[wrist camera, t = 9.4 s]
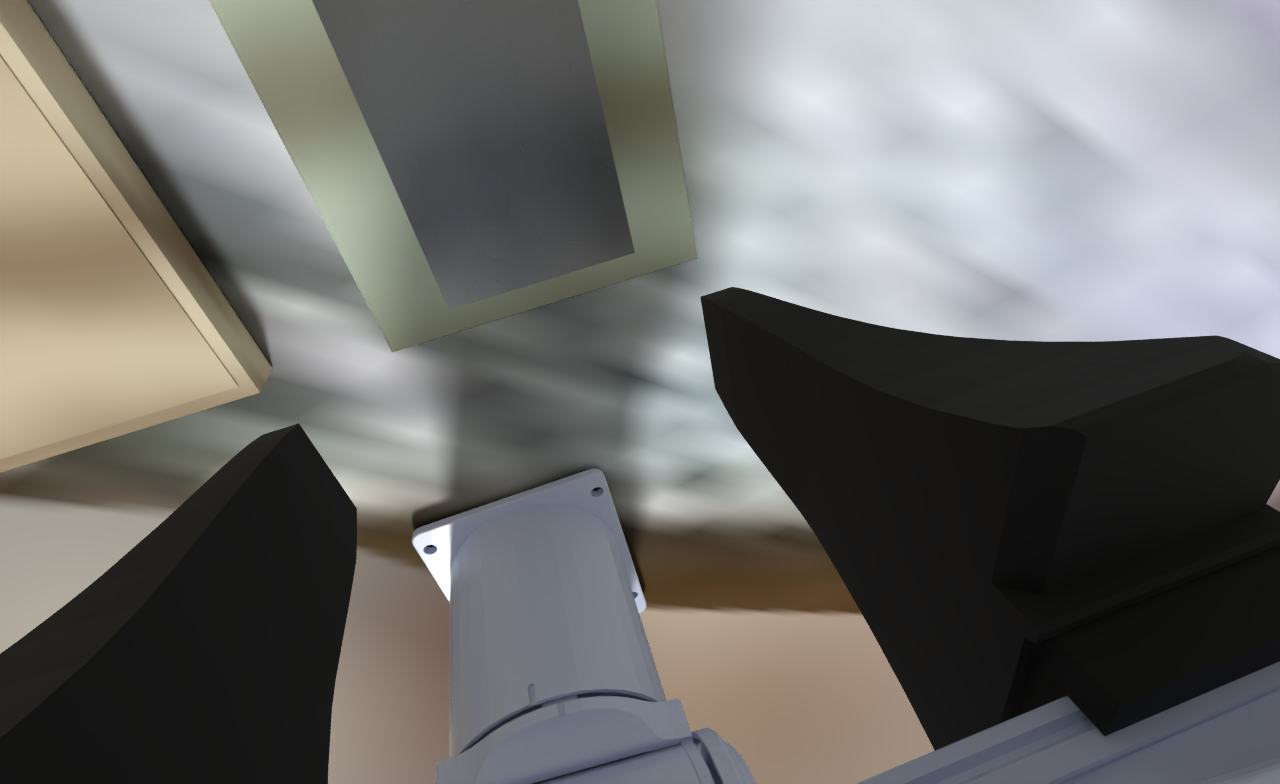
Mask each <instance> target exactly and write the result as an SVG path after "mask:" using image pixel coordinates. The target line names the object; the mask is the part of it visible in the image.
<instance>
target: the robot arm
mask: <svg viewBox="0 0 1280 784" xmlns="http://www.w3.org/2000/svg"><path fill="white" fill-rule="evenodd" d="M701 303H702V309H703V315H704V321H705V328H706V334H707V340H708V346H709V352H710V358H711V365H712V371H713V377H714V383H715V389H716V391H717V393H718V395H719V397H720V398H721V400H722V402H723V404H724V406H725V408H726V410H727V411H728V413H729V415H730V417H731V419H732V420H733V422H734V424H735V426H736V427H737V429H738V430H739V432H740V433H741V434H742V436H743V437H744V439H745V440H746V441H747V443H748V444H749V445H750V447H751V448H752V449H753V451H754V452H755V453H756V455H757V456H758V457H759V459H760V460H761V461H762V462H763V464H764V465H765V466H766V468H767V469H768V470H769V472H770V473H771V474H772V476H773V477H774V478H775V480H776V481H777V482H778V483H779V485H780V486H781V487H782V489H783V490H784V491H785V493H786V494H787V495H788V497H789V498H790V499H791V501H792V502H793V503H794V504H795V506H796V507H797V508H798V510H799V511H800V512H801V514H802V515H803V517H804V518H805V520H806V521H807V523H808V524H809V525H810V527H811V528H812V530H813V531H814V533H815V534H816V536H817V538H818V539H819V541H820V543H821V544H822V546H823V548H824V549H825V551H826V553H827V554H828V556H829V558H830V559H831V561H832V563H833V564H834V566H835V568H836V569H837V571H838V573H839V574H840V576H841V578H842V580H843V581H844V583H845V585H846V587H847V588H848V590H849V592H850V594H851V595H852V597H853V599H854V601H855V602H856V604H857V606H858V608H859V609H860V611H861V613H862V615H863V616H864V618H865V620H866V622H867V623H868V625H869V626H870V629H871V630H872V632H873V634H874V636H875V637H876V640H877V641H878V643H879V645H880V647H881V649H882V651H883V653H884V654H885V656H886V658H887V660H888V662H889V663H890V665H891V667H892V669H893V671H894V673H895V675H896V676H897V678H898V680H899V682H900V684H901V686H902V688H903V689H904V691H905V693H906V695H907V697H908V699H909V701H910V703H911V705H912V707H913V709H914V711H915V713H916V714H917V716H918V718H919V720H920V722H921V724H922V726H923V728H924V730H925V732H926V734H927V736H928V738H929V740H930V742H931V744H932V746H933V748H934V750H935V751H933V752H931V753H928V754H926V755H924V756H921V757H919V758H917V759H914V760H912V761H909V762H907V763H905V764H902V765H900V766H897V767H895V768H893V769H890V770H888V771H885V772H883V773H881V774H879V775H876V776H873V777H871V778H869V779H866V780H864V781H862V782H859V783H857V784H1280V512H1279V511H1277V510H1276V509H1274V508H1272V507H1270V506H1269V505H1267V504H1266V503H1267V501H1268V499H1269V498H1270V496H1271V494H1272V492H1273V490H1274V489H1275V487H1276V485H1277V483H1278V482H1279V480H1280V359H1278V358H1275V357H1273V356H1270V355H1268V354H1266V353H1263V352H1261V351H1258V350H1256V349H1253V348H1251V347H1248V346H1246V345H1244V344H1241V343H1239V342H1236V341H1233V340H1231V339H1228V338H1225V337H1221V336H1200V337H1182V338H1164V339H1146V340H1129V341H1107V342H1036V341H1007V340H993V339H978V338H964V337H954V336H944V335H935V334H929V333H922V332H915V331H908V330H901V329H895V328H889V327H884V326H879V325H874V324H869V323H865V322H861V321H856V320H852V319H847V318H843V317H839V316H835V315H831V314H827V313H824V312H820V311H816V310H813V309H809V308H806V307H802V306H799V305H796V304H792V303H789V302H786V301H782V300H779V299H776V298H773V297H769V296H766V295H763V294H759V293H756V292H752V291H749V290H745V289H741V288H735V287H731V288H727V289H724V290H721V291H718V292H715V293H712V294H708V295H705V296H702V297H701ZM596 487H600V489H599V490H597V491H592V490H593V489H594V488H596ZM412 543H413V546H414V547H415V549H416V550H417V552H418V554H419V555H420V557H421V558H422V560H423V561H424V563H425V565H426V566H427V568H428V569H429V571H430V572H431V574H432V576H433V577H434V579H435V580H436V582H437V583H438V585H439V587H440V588H441V590H442V591H443V593H444V594H445V596H446V598H447V599H448V601H449V602H450V740H449V745H450V746H449V747H450V748H449V749H450V750H449V751H450V752H449V758H448V759H445V760H441V761H439V762H438V763H437V764H436V784H756V782H755V780H754V778H753V776H752V774H751V772H750V770H749V768H748V766H747V765H746V763H745V761H744V760H743V758H742V757H741V755H740V754H739V753H738V751H737V750H736V749H735V748H734V747H733V746H731V745H730V744H729V743H727V742H726V741H725V740H723V739H722V738H721V737H720V736H719V735H718V734H717V733H716V732H715V731H714V730H712V729H710V728H704V729H700V730H696V731H693V732H691V731H690V728H689V725H688V722H687V719H686V716H685V713H684V710H683V707H682V704H681V701H680V700H678V699H674V700H669V701H667V700H666V697H665V694H664V691H663V688H662V685H661V681H660V678H659V675H658V672H657V669H656V666H655V662H654V659H653V656H652V653H651V650H650V646H649V643H648V640H647V637H646V634H645V631H644V628H643V624H642V621H641V618H640V615H639V613H641V612H642V611H644V610H645V608H646V601H645V598H644V595H643V592H642V589H641V586H640V583H639V580H638V576H637V573H636V570H635V567H634V564H633V561H632V558H631V555H630V552H629V549H628V546H627V543H626V540H625V537H624V534H623V530H622V527H621V524H620V521H619V518H618V515H617V512H616V509H615V506H614V503H613V500H612V497H611V494H610V491H609V487H608V484H607V481H606V478H605V475H604V473H603V472H602V471H601V470H599V469H595V468H594V469H589V470H586V471H583V472H580V473H577V474H574V475H571V476H568V477H565V478H562V479H560V480H557V481H554V482H551V483H548V484H545V485H542V486H539V487H536V488H533V489H530V490H527V491H524V492H521V493H518V494H515V495H513V496H510V497H507V498H504V499H501V500H498V501H495V502H492V503H489V504H486V505H483V506H480V507H477V508H474V509H471V510H468V511H465V512H463V513H460V514H457V515H454V516H451V517H448V518H445V519H442V520H439V521H436V522H433V523H430V524H427V525H424V526H421V527H419V528H417V529H416V530H415V531H414V532H413V535H412ZM427 545H435V546H434V547H426V546H427ZM356 550H357V508H356V507H355V505H354V504H353V502H352V501H351V500H350V498H349V497H348V495H347V494H346V492H345V491H344V489H343V488H342V486H341V485H340V483H339V482H338V480H337V479H336V477H335V476H334V475H333V473H332V472H331V470H330V469H329V467H328V466H327V464H326V463H325V461H324V460H323V458H322V457H321V455H320V454H319V452H318V451H317V450H316V448H315V447H314V445H313V444H312V442H311V441H310V439H309V438H308V436H307V435H306V433H305V432H304V430H303V429H302V427H301V426H300V425H299V424H296V425H292V426H289V427H286V428H283V429H280V430H277V431H273V432H270V433H267V434H264V435H262V436H260V437H259V438H257V439H256V440H254V441H253V442H252V443H250V444H249V445H248V446H246V447H245V448H244V449H243V450H242V451H240V452H239V453H238V454H237V455H236V456H234V457H233V458H232V459H231V460H230V461H229V462H228V463H227V464H225V465H224V466H223V467H222V468H221V469H220V470H219V471H218V472H217V473H216V474H214V475H213V476H212V477H211V478H210V479H209V480H208V481H207V482H206V483H205V484H204V485H203V486H201V487H200V488H199V489H198V490H197V491H196V492H195V493H194V494H193V495H192V496H191V497H190V498H188V499H187V500H186V501H185V502H184V503H183V504H182V505H181V506H180V507H179V508H178V509H177V510H175V511H174V512H173V513H172V514H171V515H170V516H169V517H168V518H167V519H166V520H165V521H164V522H162V523H161V524H160V525H159V526H158V527H157V528H156V529H155V530H153V531H152V532H151V533H150V534H149V535H148V536H147V537H145V538H144V539H143V540H142V541H141V542H140V543H139V544H137V545H136V546H135V547H134V548H133V549H132V550H131V551H129V552H128V553H127V554H126V555H125V556H124V557H123V558H121V559H120V560H119V561H118V562H117V563H116V564H115V565H114V566H112V567H111V568H110V569H109V570H108V571H107V572H105V573H104V574H103V575H102V576H101V577H99V578H98V579H97V580H96V581H95V582H93V583H92V584H91V585H90V586H89V587H87V588H86V589H85V590H84V591H82V592H81V593H80V594H79V595H77V596H76V597H75V598H74V599H72V600H71V601H70V602H69V603H67V604H66V605H65V606H64V607H62V608H61V609H60V610H58V611H57V612H56V613H54V614H53V615H52V616H51V617H49V618H48V619H47V620H45V621H44V622H43V623H41V624H40V625H39V626H37V627H36V628H35V629H33V630H32V631H31V632H29V633H28V634H27V635H26V636H24V637H23V638H22V639H20V640H19V641H18V642H16V643H15V644H13V645H12V646H11V647H9V648H8V649H6V650H5V651H4V652H2V653H1V654H0V784H328V763H329V746H330V729H331V728H330V727H331V712H332V703H333V695H334V687H335V679H336V674H337V669H338V663H339V657H340V652H341V646H342V640H343V635H344V629H345V624H346V618H347V612H348V607H349V601H350V595H351V589H352V583H353V576H354V571H355V564H356Z"/></svg>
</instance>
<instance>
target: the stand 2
mask: <svg viewBox="0 0 1280 784" xmlns="http://www.w3.org/2000/svg"><path fill="white" fill-rule="evenodd" d="M209 1H210V3H211V5H212V7H213V9H214V11H215V13H216V15H217V16H218V18H219V20H220V22H221V24H222V26H223V28H224V30H225V32H226V34H227V36H228V38H229V40H230V41H231V43H232V45H233V47H234V49H235V51H236V53H237V55H238V57H239V59H240V61H241V63H242V65H243V66H244V68H245V70H246V72H247V74H248V76H249V78H250V80H251V82H252V84H253V86H254V88H255V90H256V91H257V93H258V95H259V97H260V99H261V101H262V103H263V105H264V107H265V109H266V111H267V113H268V115H269V116H270V118H271V120H272V122H273V124H274V126H275V128H276V130H277V132H278V134H279V136H280V138H281V140H282V141H283V143H284V145H285V147H286V149H287V151H288V153H289V155H290V157H291V159H292V161H293V163H294V165H295V166H296V168H297V170H298V172H299V174H300V176H301V178H302V180H303V182H304V184H305V186H306V188H307V190H308V191H309V193H310V195H311V197H312V199H313V201H314V203H315V205H316V207H317V209H318V211H319V213H320V215H321V216H322V218H323V220H324V222H325V224H326V226H327V228H328V230H329V232H330V234H331V236H332V238H333V240H334V241H335V243H336V245H337V247H338V249H339V251H340V253H341V255H342V257H343V259H344V261H345V263H346V265H347V266H348V268H349V270H350V272H351V274H352V276H353V278H354V280H355V282H356V284H357V286H358V288H359V290H360V291H361V293H362V295H363V297H364V299H365V301H366V303H367V305H368V307H369V309H370V311H371V313H372V315H373V316H374V318H375V320H376V322H377V324H378V326H379V328H380V330H381V332H382V334H383V336H384V338H385V340H386V341H387V343H388V345H389V347H390V349H391V351H392V352H394V351H397V350H400V349H404V348H407V347H410V346H414V345H417V344H420V343H423V342H427V341H430V340H433V339H436V338H440V337H443V336H446V335H449V334H453V333H456V332H459V331H462V330H466V329H469V328H472V327H475V326H479V325H482V324H485V323H488V322H492V321H495V320H498V319H501V318H505V317H508V316H511V315H514V314H518V313H521V312H524V311H527V310H531V309H534V308H537V307H540V306H544V305H547V304H550V303H553V302H557V301H560V300H563V299H566V298H570V297H573V296H576V295H579V294H583V293H586V292H589V291H592V290H596V289H599V288H602V287H605V286H609V285H612V284H615V283H618V282H622V281H625V280H628V279H631V278H635V277H638V276H641V275H644V274H648V273H651V272H654V271H657V270H661V269H664V268H667V267H670V266H674V265H677V264H680V263H683V262H687V261H690V260H693V259H696V258H697V253H696V247H695V241H694V235H693V228H692V222H691V216H690V209H689V203H688V197H687V191H686V184H685V178H684V172H683V165H682V159H681V153H680V146H679V140H678V134H677V128H676V121H675V115H674V109H673V102H672V96H671V90H670V84H669V77H668V71H667V65H666V58H665V52H664V46H663V40H662V33H661V27H660V21H659V14H658V8H657V2H656V0H578V3H579V8H580V12H581V17H582V21H583V25H584V30H585V34H586V39H587V43H588V47H589V52H590V56H591V61H592V65H593V70H594V74H595V78H596V83H597V87H598V92H599V96H600V101H601V105H602V109H603V114H604V118H605V123H606V127H607V131H608V136H609V140H610V145H611V149H612V154H613V158H614V162H615V167H616V171H617V176H618V180H619V184H620V189H621V193H622V198H623V202H624V207H625V211H626V215H627V220H628V224H629V229H630V233H631V237H632V242H633V246H634V251H635V253H633V254H629V255H626V256H623V257H620V258H616V259H613V260H610V261H607V262H603V263H600V264H597V265H594V266H590V267H587V268H584V269H581V270H577V271H574V272H571V273H568V274H564V275H561V276H558V277H555V278H551V279H548V280H545V281H542V282H538V283H535V284H532V285H529V286H525V287H522V288H519V289H516V290H512V291H509V292H506V293H503V294H499V295H496V296H493V297H490V298H486V299H483V300H480V301H477V302H473V303H470V304H467V305H464V306H460V307H457V308H454V309H451V310H448V307H447V305H446V303H445V301H444V298H443V296H442V294H441V291H440V289H439V287H438V285H437V282H436V280H435V278H434V276H433V273H432V271H431V269H430V267H429V264H428V262H427V260H426V257H425V255H424V253H423V251H422V248H421V246H420V244H419V242H418V239H417V237H416V235H415V233H414V230H413V228H412V226H411V223H410V221H409V219H408V217H407V214H406V212H405V210H404V208H403V205H402V203H401V201H400V199H399V196H398V194H397V192H396V190H395V187H394V185H393V183H392V180H391V178H390V176H389V174H388V171H387V169H386V167H385V165H384V162H383V160H382V158H381V156H380V153H379V151H378V149H377V146H376V144H375V142H374V140H373V137H372V135H371V133H370V131H369V128H368V126H367V124H366V122H365V119H364V117H363V115H362V112H361V110H360V108H359V106H358V103H357V101H356V99H355V97H354V94H353V92H352V90H351V88H350V85H349V83H348V81H347V79H346V76H345V74H344V72H343V69H342V67H341V65H340V63H339V60H338V58H337V56H336V54H335V51H334V49H333V47H332V45H331V42H330V40H329V38H328V35H327V33H326V31H325V29H324V26H323V24H322V22H321V20H320V17H319V15H318V13H317V11H316V8H315V6H314V4H313V1H312V0H209Z"/></svg>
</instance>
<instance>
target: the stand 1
mask: <svg viewBox="0 0 1280 784" xmlns="http://www.w3.org/2000/svg"><path fill="white" fill-rule="evenodd" d="M271 371H272V367H271V366H270V364H269V363H268V361H267V360H266V358H265V357H264V355H263V354H262V352H261V351H260V349H259V348H258V346H257V345H256V343H255V342H254V340H253V339H252V337H251V336H250V334H249V333H248V331H247V330H246V328H245V327H244V325H243V324H242V322H241V321H240V319H239V318H238V316H237V315H236V313H235V312H234V310H233V309H232V307H231V306H230V304H229V303H228V301H227V300H226V298H225V297H224V295H223V294H222V292H221V291H220V289H219V288H218V286H217V285H216V283H215V282H214V280H213V279H212V277H211V276H210V274H209V273H208V271H207V270H206V268H205V267H204V265H203V264H202V262H201V261H200V259H199V258H198V256H197V255H196V253H195V252H194V250H193V249H192V247H191V246H190V244H189V243H188V241H187V240H186V238H185V237H184V235H183V234H182V232H181V231H180V229H179V228H178V226H177V225H176V223H175V222H174V220H173V219H172V217H171V216H170V214H169V213H168V211H167V210H166V208H165V207H164V205H163V204H162V202H161V201H160V199H159V198H158V196H157V195H156V193H155V192H154V190H153V189H152V187H151V186H150V184H149V183H148V181H147V180H146V178H145V177H144V175H143V174H142V172H141V171H140V169H139V168H138V166H137V165H136V163H135V162H134V160H133V159H132V157H131V156H130V154H129V153H128V151H127V150H126V148H125V147H124V145H123V144H122V142H121V141H120V139H119V138H118V136H117V135H116V133H115V132H114V130H113V129H112V127H111V126H110V124H109V123H108V121H107V120H106V118H105V117H104V115H103V114H102V112H101V111H100V109H99V108H98V106H97V105H96V103H95V102H94V100H93V99H92V97H91V96H90V94H89V93H88V91H87V90H86V88H85V87H84V85H83V84H82V82H81V81H80V79H79V78H78V76H77V75H76V73H75V72H74V70H73V69H72V67H71V66H70V64H69V63H68V61H67V60H66V58H65V57H64V55H63V54H62V52H61V51H60V49H59V48H58V46H57V45H56V43H55V42H54V40H53V39H52V37H51V36H50V34H49V33H48V31H47V30H46V28H45V27H44V25H43V24H42V22H41V21H40V19H39V18H38V16H37V15H36V13H35V12H34V10H33V9H32V7H31V6H30V4H29V3H28V1H27V0H0V472H3V471H7V470H10V469H13V468H16V467H20V466H23V465H26V464H29V463H33V462H36V461H39V460H42V459H46V458H49V457H52V456H55V455H59V454H62V453H65V452H68V451H72V450H75V449H78V448H81V447H85V446H88V445H91V444H94V443H98V442H101V441H104V440H107V439H111V438H114V437H117V436H120V435H124V434H127V433H130V432H133V431H137V430H140V429H143V428H146V427H150V426H153V425H156V424H159V423H163V422H166V421H169V420H172V419H176V418H179V417H182V416H185V415H189V414H192V413H195V412H198V411H202V410H205V409H208V408H211V407H215V406H218V405H221V404H224V403H228V402H231V401H234V400H237V399H241V398H244V397H247V396H250V395H254V394H257V393H260V392H261V390H262V388H263V386H264V384H265V382H266V380H267V378H268V376H269V374H270V372H271Z"/></svg>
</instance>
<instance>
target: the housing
mask: <svg viewBox="0 0 1280 784" xmlns="http://www.w3.org/2000/svg"><path fill="white" fill-rule="evenodd" d="M312 1H313V4H314V6H315V8H316V11H317V13H318V15H319V17H320V20H321V22H322V24H323V26H324V29H325V31H326V33H327V35H328V38H329V40H330V42H331V45H332V47H333V49H334V51H335V54H336V56H337V58H338V60H339V63H340V65H341V67H342V69H343V72H344V74H345V76H346V79H347V81H348V83H349V85H350V88H351V90H352V92H353V94H354V97H355V99H356V101H357V103H358V106H359V108H360V110H361V112H362V115H363V117H364V119H365V122H366V124H367V126H368V128H369V131H370V133H371V135H372V137H373V140H374V142H375V144H376V146H377V149H378V151H379V153H380V156H381V158H382V160H383V162H384V165H385V167H386V169H387V171H388V174H389V176H390V178H391V180H392V183H393V185H394V187H395V190H396V192H397V194H398V196H399V199H400V201H401V203H402V205H403V208H404V210H405V212H406V214H407V217H408V219H409V221H410V223H411V226H412V228H413V230H414V233H415V235H416V237H417V239H418V242H419V244H420V246H421V248H422V251H423V253H424V255H425V257H426V260H427V262H428V264H429V267H430V269H431V271H432V273H433V276H434V278H435V280H436V282H437V285H438V287H439V289H440V291H441V294H442V296H443V298H444V301H445V303H446V305H447V307H448V310H451V309H454V308H457V307H460V306H464V305H467V304H470V303H473V302H477V301H480V300H483V299H486V298H490V297H493V296H496V295H499V294H503V293H506V292H509V291H512V290H516V289H519V288H522V287H525V286H529V285H532V284H535V283H538V282H542V281H545V280H548V279H551V278H555V277H558V276H561V275H564V274H568V273H571V272H574V271H577V270H581V269H584V268H587V267H590V266H594V265H597V264H600V263H603V262H607V261H610V260H613V259H616V258H620V257H623V256H626V255H629V254H633V253H635V251H634V246H633V242H632V237H631V233H630V229H629V224H628V220H627V215H626V211H625V207H624V202H623V198H622V193H621V189H620V184H619V180H618V176H617V171H616V167H615V162H614V158H613V154H612V149H611V145H610V140H609V136H608V131H607V127H606V123H605V118H604V114H603V109H602V105H601V101H600V96H599V92H598V87H597V83H596V78H595V74H594V70H593V65H592V61H591V56H590V52H589V47H588V43H587V39H586V34H585V30H584V25H583V21H582V17H581V12H580V8H579V3H578V0H312Z"/></svg>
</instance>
